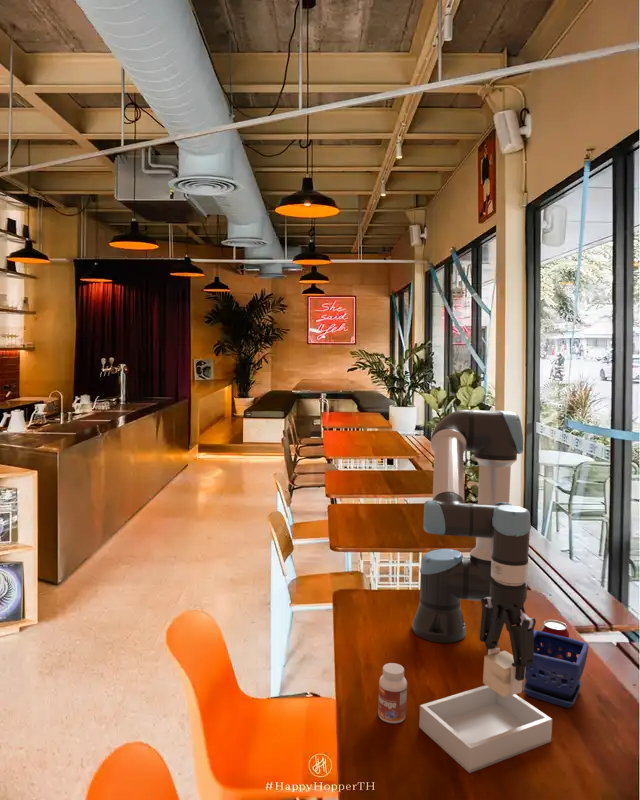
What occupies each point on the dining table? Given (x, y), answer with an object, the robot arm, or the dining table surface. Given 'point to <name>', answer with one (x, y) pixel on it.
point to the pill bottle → (392, 694)
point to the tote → (484, 726)
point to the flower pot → (555, 669)
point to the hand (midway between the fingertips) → (503, 684)
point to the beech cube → (499, 672)
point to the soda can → (555, 632)
